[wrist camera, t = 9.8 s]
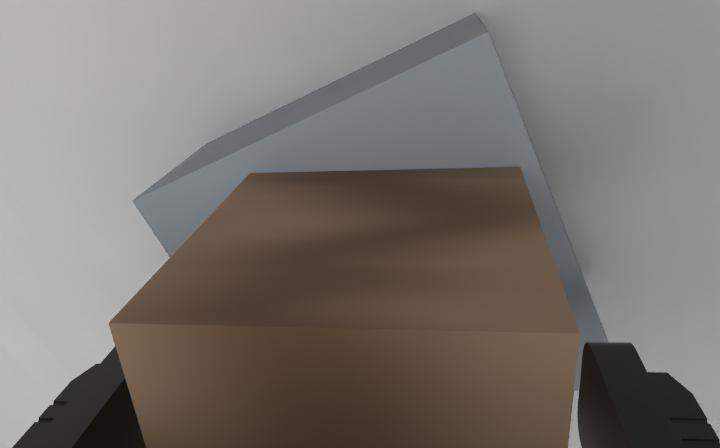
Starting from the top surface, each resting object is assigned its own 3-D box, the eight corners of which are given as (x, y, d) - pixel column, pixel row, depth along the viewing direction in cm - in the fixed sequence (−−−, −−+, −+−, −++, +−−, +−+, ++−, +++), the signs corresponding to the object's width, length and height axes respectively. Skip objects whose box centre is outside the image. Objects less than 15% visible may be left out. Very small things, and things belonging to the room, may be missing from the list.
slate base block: (474, 12, 16) (488, 31, 11) (577, 276, 18) (622, 378, 14) (209, 141, 18) (132, 200, 14) (335, 355, 21) (307, 462, 17)
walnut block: (520, 167, 12) (579, 333, 7) (509, 390, 14) (546, 644, 9) (249, 172, 13) (108, 322, 8) (283, 381, 15) (194, 607, 10)
